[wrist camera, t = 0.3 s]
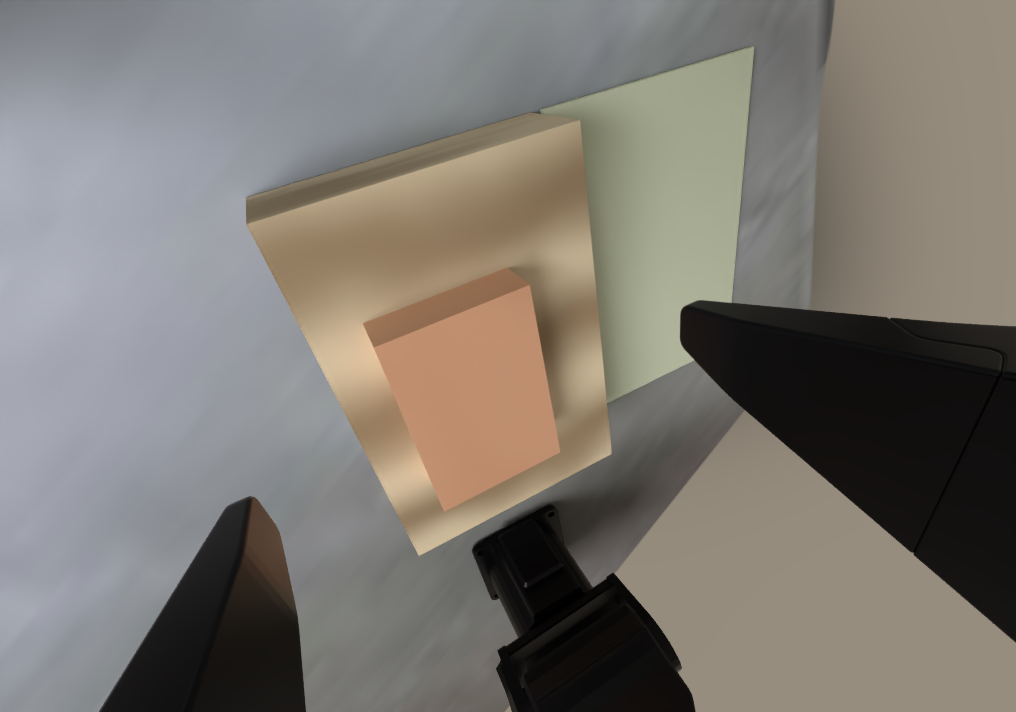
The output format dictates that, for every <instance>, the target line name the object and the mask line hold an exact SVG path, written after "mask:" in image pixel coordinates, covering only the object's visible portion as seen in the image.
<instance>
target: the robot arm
mask: <svg viewBox="0 0 1016 712" xmlns="http://www.w3.org/2000/svg"><path fill="white" fill-rule="evenodd" d="M680 342H681V345H682V347H683V348H684V350H685V351H686V352H687V353H688V354H689V355H690V356H691V357H692V358H693V359H694V360H695V361H696V362H697V363H698V364H699V365H700V366H701V368H702V369H703V370H704V371H705V372H706V373H707V374H708V375H709V376H710V377H711V378H712V379H713V380H714V381H715V382H716V383H717V384H718V385H719V386H720V387H721V389H723V390H724V391H725V392H726V393H727V394H728V395H729V396H730V397H731V398H732V399H733V400H734V401H735V402H736V403H737V404H739V405H740V406H741V407H742V408H743V409H744V410H746V411H747V412H748V413H749V414H750V415H751V416H753V417H754V418H755V419H756V420H757V421H758V422H760V423H761V424H762V425H763V426H764V427H765V428H767V429H768V430H769V431H770V432H771V433H772V434H774V435H775V436H776V437H777V438H778V439H779V440H781V441H782V442H783V443H784V444H785V445H786V446H788V447H789V448H790V449H791V450H792V451H793V452H795V453H796V454H797V455H798V456H799V457H800V458H802V459H803V460H804V461H805V462H806V463H808V464H809V465H810V466H811V467H812V468H813V469H814V470H816V471H817V472H818V473H819V474H820V475H821V476H823V477H824V478H825V479H826V480H827V481H828V482H830V483H831V484H832V485H833V486H834V487H835V488H837V489H838V490H839V491H840V492H841V493H842V494H844V495H845V496H846V497H847V498H848V499H849V500H851V501H852V502H853V503H854V504H855V505H856V506H858V507H859V508H860V509H861V510H862V511H864V512H865V513H866V514H867V515H868V516H869V517H870V518H872V519H873V520H874V521H875V522H876V523H877V524H879V525H880V526H881V527H882V528H883V529H884V530H886V531H887V532H888V533H889V534H890V535H892V536H893V537H894V538H895V539H896V540H897V541H898V542H900V543H901V544H902V545H903V546H904V547H906V548H907V549H908V550H909V551H910V552H913V553H914V556H916V557H917V558H918V559H919V560H920V561H921V562H922V563H924V564H925V565H926V566H927V567H928V568H929V569H931V570H932V571H933V572H934V573H935V574H937V575H938V576H939V577H940V578H941V579H942V580H943V581H945V582H946V583H947V584H948V585H949V586H950V587H952V588H953V589H954V590H955V591H956V592H957V593H959V594H960V595H961V596H962V597H963V598H964V599H966V600H967V601H968V602H969V603H970V604H971V605H973V606H974V607H975V608H976V609H977V610H978V611H980V612H981V613H982V614H983V615H984V616H985V617H987V618H988V619H989V620H990V621H991V622H992V623H993V624H995V625H996V626H997V627H998V628H999V629H1001V630H1002V631H1003V632H1004V633H1005V634H1006V635H1007V636H1009V637H1010V638H1011V639H1012V640H1013V641H1014V642H1016V326H998V325H979V324H961V323H946V322H934V321H922V320H910V319H900V318H890V319H889V318H887V317H877V316H867V315H857V314H846V313H835V312H824V311H813V310H803V309H792V308H782V307H771V306H760V305H749V304H739V303H728V302H717V301H707V300H697V301H695V302H692V303H690V304H688V305H685V306H684V307H683V308H682V310H681V312H680ZM472 553H473V555H474V558H475V560H476V563H477V565H478V568H479V570H480V573H481V575H482V577H483V580H484V582H485V585H486V587H487V590H488V592H489V595H490V597H491V599H492V600H497V599H500V601H501V603H502V605H503V607H504V609H505V611H506V613H507V615H508V617H509V619H510V622H511V624H512V626H513V628H514V630H515V632H516V634H517V636H518V639H516V640H515V641H513V642H512V643H510V644H509V645H507V646H503V647H502V648H500V649H499V650H497V651H498V654H499V656H500V659H501V660H500V661H501V662H500V663H499V665H498V667H497V668H496V670H497V672H498V675H499V677H500V680H501V682H502V684H503V687H504V689H505V692H506V694H507V697H508V700H509V703H510V707H511V710H512V712H695V707H694V701H693V697H692V694H691V692H690V690H689V688H688V687H687V685H686V684H685V683H684V681H683V680H682V678H681V677H680V675H679V674H678V672H679V671H680V670H681V669H682V667H681V663H680V661H679V659H678V657H677V655H676V653H675V651H674V649H673V647H672V646H671V644H670V642H669V641H668V639H667V638H666V636H665V635H664V633H663V632H662V630H661V629H660V628H659V626H658V625H657V623H656V622H655V621H654V619H653V618H652V617H651V616H650V614H649V613H648V612H647V611H646V610H645V609H644V608H643V606H642V605H641V604H640V603H639V602H638V601H637V600H636V598H635V597H634V596H633V595H632V594H631V593H630V591H629V590H628V589H627V588H626V587H625V586H624V584H623V583H622V582H621V581H620V580H619V579H618V577H617V576H616V575H615V574H614V573H612V574H610V575H609V576H607V577H606V578H607V579H605V580H604V581H602V582H601V583H599V584H598V585H597V586H595V587H594V588H593V587H592V585H591V584H590V582H589V581H588V579H587V578H586V576H585V575H584V573H583V572H582V570H581V569H580V568H579V566H578V565H577V563H576V562H575V560H574V559H573V557H572V556H571V554H570V553H569V551H568V550H567V548H566V547H565V545H564V540H563V535H562V530H561V526H560V521H559V516H558V511H557V510H556V508H555V507H554V506H553V505H550V506H547V507H545V508H543V509H542V510H540V511H538V512H536V513H534V514H532V515H531V516H529V517H527V518H525V519H523V520H521V521H519V522H518V523H516V524H514V525H512V526H510V527H508V528H507V529H505V530H503V531H501V532H499V533H497V534H495V535H494V536H492V537H490V538H488V539H486V540H484V541H483V542H481V543H479V544H477V545H476V546H474V548H473V549H472ZM99 712H306V707H305V695H304V682H303V670H302V658H301V646H300V634H299V624H298V616H297V611H296V606H295V601H294V596H293V591H292V587H291V582H290V577H289V573H288V568H287V564H286V559H285V554H284V550H283V545H282V540H281V536H280V533H279V531H278V528H277V526H276V525H275V523H274V522H273V520H272V519H271V518H270V516H269V515H268V513H267V512H266V511H265V509H264V508H263V506H262V505H261V504H260V502H259V501H258V500H257V499H256V498H255V497H252V496H249V497H246V498H244V499H242V500H239V501H237V502H235V503H233V504H230V505H229V506H227V507H226V508H225V510H224V511H223V513H222V514H221V516H220V518H219V519H218V521H217V522H216V524H215V526H214V527H213V529H212V530H211V532H210V534H209V535H208V537H207V539H206V540H205V542H204V543H203V545H202V547H201V548H200V550H199V551H198V553H197V555H196V556H195V558H194V559H193V561H192V563H191V564H190V566H189V567H188V569H187V571H186V572H185V574H184V576H183V577H182V579H181V580H180V582H179V584H178V585H177V587H176V588H175V590H174V592H173V593H172V595H171V596H170V598H169V600H168V601H167V603H166V605H165V606H164V608H163V609H162V611H161V613H160V614H159V616H158V617H157V619H156V621H155V622H154V624H153V625H152V627H151V629H150V630H149V632H148V633H147V635H146V637H145V638H144V640H143V642H142V643H141V645H140V646H139V648H138V650H137V651H136V653H135V654H134V656H133V658H132V659H131V661H130V662H129V664H128V666H127V667H126V669H125V670H124V672H123V674H122V675H121V677H120V679H119V680H118V682H117V683H116V685H115V687H114V688H113V690H112V691H111V693H110V695H109V696H108V698H107V699H106V701H105V703H104V704H103V706H102V707H101V709H100V711H99Z"/></svg>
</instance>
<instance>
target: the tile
mask: <svg viewBox="0 0 1016 712" xmlns="http://www.w3.org/2000/svg"><path fill="white" fill-rule="evenodd" d="M363 326H364V328H365V330H366V333H367V335H368V337H369V340H370V342H371V344H372V347H373V349H374V351H375V354H376V356H377V358H378V361H379V363H380V365H381V368H382V370H383V372H384V375H385V377H386V379H387V382H388V384H389V386H390V389H391V391H392V393H393V396H394V398H395V400H396V403H397V405H398V407H399V409H400V412H401V414H402V416H403V419H404V421H405V423H406V426H407V428H408V430H409V433H410V435H411V437H412V440H413V442H414V444H415V447H416V449H417V451H418V454H419V456H420V458H421V461H422V463H423V465H424V468H425V470H426V472H427V475H428V477H429V479H430V482H431V484H432V486H433V488H434V491H435V493H436V495H437V497H438V499H439V502H440V504H441V506H442V508H443V510H444V512H445V511H447V510H449V509H451V508H453V507H455V506H457V505H459V504H461V503H462V502H464V501H466V500H468V499H470V498H472V497H474V496H476V495H478V494H480V493H482V492H484V491H486V490H488V489H490V488H492V487H494V486H496V485H498V484H499V483H501V482H503V481H505V480H507V479H509V478H511V477H513V476H515V475H517V474H519V473H521V472H523V471H525V470H527V469H529V468H531V467H533V466H535V465H537V464H538V463H540V462H542V461H544V460H546V459H548V458H550V457H552V456H554V455H556V454H558V453H560V447H559V442H558V436H557V431H556V425H555V420H554V414H553V409H552V403H551V398H550V392H549V387H548V382H547V376H546V371H545V365H544V360H543V354H542V349H541V343H540V338H539V332H538V327H537V321H536V316H535V311H534V305H533V300H532V294H531V289H530V285H529V284H528V283H527V282H525V281H524V280H523V279H521V278H520V277H519V276H517V275H516V274H515V273H513V272H512V271H511V270H509V269H508V268H504V269H502V270H499V271H497V272H494V273H491V274H489V275H486V276H484V277H481V278H479V279H476V280H473V281H471V282H468V283H466V284H463V285H460V286H458V287H455V288H453V289H450V290H448V291H445V292H442V293H440V294H437V295H435V296H432V297H429V298H427V299H424V300H422V301H419V302H417V303H414V304H411V305H409V306H406V307H404V308H401V309H399V310H396V311H393V312H391V313H388V314H386V315H383V316H380V317H378V318H375V319H373V320H370V321H368V322H365V323H363Z"/></svg>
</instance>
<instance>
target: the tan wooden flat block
mask: <svg viewBox="0 0 1016 712" xmlns="http://www.w3.org/2000/svg"><path fill="white" fill-rule="evenodd" d="M246 224H247V226H248V228H249V230H250V232H251V234H252V236H253V238H254V240H255V242H256V244H257V246H258V248H259V249H260V251H261V253H262V255H263V257H264V259H265V261H266V263H267V265H268V267H269V269H270V271H271V273H272V274H273V276H274V278H275V280H276V282H277V284H278V286H279V288H280V290H281V292H282V294H283V296H284V297H285V299H286V301H287V303H288V305H289V307H290V309H291V311H292V313H293V315H294V317H295V319H296V321H297V322H298V324H299V326H300V328H301V330H302V332H303V334H304V336H305V338H306V340H307V342H308V344H309V346H310V347H311V349H312V351H313V353H314V355H315V357H316V359H317V361H318V363H319V365H320V367H321V369H322V370H323V372H324V374H325V376H326V378H327V380H328V382H329V384H330V386H331V388H332V390H333V392H334V394H335V395H336V397H337V399H338V401H339V403H340V405H341V407H342V409H343V411H344V413H345V415H346V417H347V418H348V420H349V422H350V424H351V426H352V428H353V430H354V432H355V434H356V436H357V438H358V440H359V442H360V443H361V445H362V447H363V449H364V451H365V453H366V455H367V457H368V459H369V461H370V463H371V465H372V467H373V468H374V470H375V472H376V474H377V476H378V478H379V480H380V482H381V484H382V486H383V488H384V490H385V491H386V493H387V495H388V497H389V499H390V501H391V503H392V505H393V507H394V509H395V511H396V513H397V515H398V516H399V518H400V520H401V522H402V524H403V526H404V528H405V530H406V532H407V534H408V536H409V538H410V539H411V541H412V543H413V545H414V547H415V549H416V551H417V553H418V555H419V556H420V555H422V554H424V553H426V552H428V551H429V550H431V549H433V548H435V547H437V546H439V545H441V544H443V543H444V542H446V541H448V540H450V539H452V538H454V537H456V536H458V535H460V534H461V533H463V532H465V531H467V530H469V529H471V528H473V527H475V526H477V525H478V524H480V523H482V522H484V521H486V520H488V519H490V518H492V517H494V516H495V515H497V514H499V513H501V512H503V511H505V510H507V509H509V508H510V507H512V506H514V505H516V504H518V503H520V502H522V501H524V500H526V499H527V498H529V497H531V496H533V495H535V494H537V493H539V492H541V491H543V490H544V489H546V488H548V487H550V486H552V485H554V484H556V483H558V482H559V481H561V480H563V479H565V478H567V477H569V476H571V475H573V474H575V473H576V472H578V471H580V470H582V469H584V468H586V467H588V466H590V465H592V464H593V463H595V462H597V461H599V460H601V459H603V458H605V457H607V456H609V455H610V454H612V452H611V441H610V431H609V420H608V410H607V399H606V389H605V378H604V367H603V357H602V346H601V336H600V325H599V315H598V304H597V294H596V283H595V272H594V262H593V251H592V241H591V230H590V220H589V209H588V199H587V188H586V178H585V167H584V156H583V146H582V135H581V125H580V120H578V119H571V118H565V117H558V116H551V115H544V114H537V113H526V114H523V115H520V116H516V117H513V118H510V119H506V120H503V121H500V122H496V123H493V124H490V125H486V126H483V127H480V128H476V129H473V130H470V131H466V132H463V133H460V134H456V135H453V136H450V137H446V138H443V139H440V140H436V141H433V142H430V143H426V144H423V145H420V146H416V147H413V148H410V149H406V150H403V151H400V152H396V153H393V154H390V155H386V156H383V157H380V158H376V159H373V160H370V161H366V162H363V163H360V164H356V165H353V166H350V167H346V168H343V169H340V170H336V171H333V172H330V173H326V174H323V175H320V176H316V177H313V178H310V179H306V180H303V181H300V182H296V183H293V184H290V185H286V186H283V187H280V188H276V189H273V190H270V191H266V192H263V193H260V194H256V195H253V196H250V197H246ZM504 268H508V269H509V270H511V271H512V272H513V273H515V274H516V275H517V276H519V277H520V278H521V279H523V280H524V281H525V282H527V283H528V284H529V285H530V289H531V294H532V300H533V305H534V311H535V316H536V321H537V327H538V332H539V338H540V343H541V349H542V354H543V360H544V365H545V371H546V376H547V382H548V387H549V392H550V398H551V403H552V409H553V414H554V420H555V425H556V431H557V436H558V442H559V447H560V453H558V454H556V455H554V456H552V457H550V458H548V459H546V460H544V461H542V462H540V463H538V464H537V465H535V466H533V467H531V468H529V469H527V470H525V471H523V472H521V473H519V474H517V475H515V476H513V477H511V478H509V479H507V480H505V481H503V482H501V483H499V484H498V485H496V486H494V487H492V488H490V489H488V490H486V491H484V492H482V493H480V494H478V495H476V496H474V497H472V498H470V499H468V500H466V501H464V502H462V503H461V504H459V505H457V506H455V507H453V508H451V509H449V510H447V511H445V512H444V510H443V508H442V506H441V504H440V502H439V499H438V497H437V495H436V493H435V491H434V488H433V486H432V484H431V482H430V479H429V477H428V475H427V472H426V470H425V468H424V465H423V463H422V461H421V458H420V456H419V454H418V451H417V449H416V447H415V444H414V442H413V440H412V437H411V435H410V433H409V430H408V428H407V426H406V423H405V421H404V419H403V416H402V414H401V412H400V409H399V407H398V405H397V403H396V400H395V398H394V396H393V393H392V391H391V389H390V386H389V384H388V382H387V379H386V377H385V375H384V372H383V370H382V368H381V365H380V363H379V361H378V358H377V356H376V354H375V351H374V349H373V347H372V344H371V342H370V340H369V337H368V335H367V333H366V330H365V328H364V326H363V323H365V322H368V321H370V320H373V319H375V318H378V317H380V316H383V315H386V314H388V313H391V312H393V311H396V310H399V309H401V308H404V307H406V306H409V305H411V304H414V303H417V302H419V301H422V300H424V299H427V298H429V297H432V296H435V295H437V294H440V293H442V292H445V291H448V290H450V289H453V288H455V287H458V286H460V285H463V284H466V283H468V282H471V281H473V280H476V279H479V278H481V277H484V276H486V275H489V274H491V273H494V272H497V271H499V270H502V269H504Z"/></svg>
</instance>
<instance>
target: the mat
mask: <svg viewBox="0 0 1016 712" xmlns="http://www.w3.org/2000/svg"><path fill="white" fill-rule="evenodd" d="M753 56H754V46H752V47H747V48H743V49H740V50H737V51H733V52H730V53H727V54H723V55H720V56H717V57H713V58H710V59H707V60H703V61H700V62H697V63H693V64H690V65H687V66H683V67H680V68H677V69H673V70H670V71H666V72H663V73H660V74H656V75H653V76H650V77H646V78H643V79H640V80H636V81H633V82H630V83H626V84H623V85H620V86H616V87H613V88H610V89H606V90H603V91H600V92H596V93H593V94H590V95H586V96H583V97H580V98H576V99H573V100H570V101H566V102H563V103H560V104H556V105H553V106H550V107H546V108H543V109H540V113H541V114H544V115H551V116H558V117H565V118H571V119H578V120H580V125H581V135H582V146H583V156H584V167H585V178H586V188H587V199H588V209H589V220H590V230H591V241H592V251H593V262H594V272H595V283H596V294H597V304H598V315H599V325H600V336H601V346H602V357H603V367H604V378H605V389H606V399H607V403H609V402H611V401H613V400H615V399H617V398H619V397H621V396H623V395H625V394H627V393H629V392H631V391H633V390H635V389H637V388H639V387H641V386H643V385H645V384H647V383H649V382H651V381H653V380H655V379H657V378H659V377H661V376H663V375H665V374H667V373H669V372H671V371H673V370H675V369H677V368H679V367H681V366H683V365H685V364H687V363H689V362H691V361H693V360H694V359H693V358H692V357H691V356H690V355H689V354H688V353H687V352H686V351H685V350H684V348H683V347H682V345H681V342H680V312H681V310H682V308H683V307H684V306H685V305H688V304H690V303H692V302H695V301H697V300H707V301H717V302H728V303H731V302H732V291H733V280H734V269H735V258H736V246H737V235H738V224H739V213H740V202H741V190H742V179H743V168H744V157H745V146H746V134H747V123H748V112H749V101H750V90H751V78H752V67H753Z"/></svg>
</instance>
